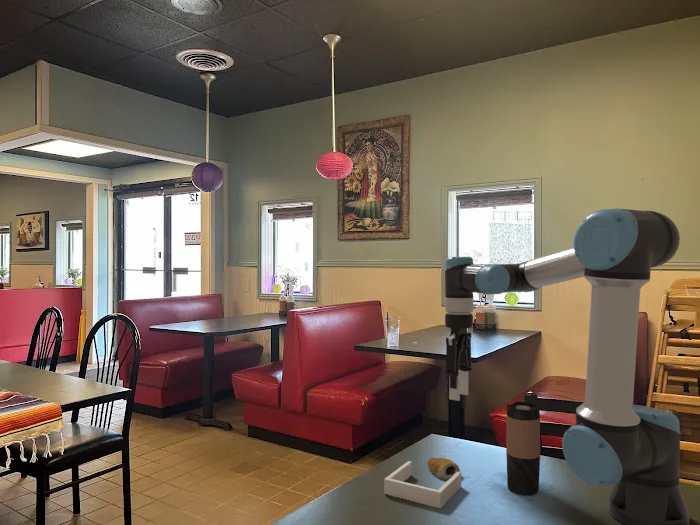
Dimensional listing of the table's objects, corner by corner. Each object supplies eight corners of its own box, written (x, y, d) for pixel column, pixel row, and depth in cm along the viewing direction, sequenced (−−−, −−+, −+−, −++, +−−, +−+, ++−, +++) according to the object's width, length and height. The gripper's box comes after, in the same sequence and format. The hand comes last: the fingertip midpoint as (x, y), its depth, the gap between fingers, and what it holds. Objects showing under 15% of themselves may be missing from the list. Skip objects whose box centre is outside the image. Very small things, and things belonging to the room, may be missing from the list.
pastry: (420, 467, 142) (420, 453, 142) (442, 463, 145) (442, 449, 145) (440, 481, 134) (440, 465, 134) (463, 476, 137) (463, 461, 137)
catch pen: (461, 486, 130) (461, 472, 130) (440, 508, 119) (440, 492, 119) (408, 474, 137) (408, 461, 137) (384, 493, 126) (384, 479, 126)
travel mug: (542, 497, 124) (542, 411, 124) (507, 494, 126) (507, 409, 125) (537, 483, 132) (537, 402, 131) (505, 481, 133) (505, 400, 133)
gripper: (458, 309, 158) (458, 387, 158) (432, 315, 142) (432, 403, 142) (483, 310, 154) (483, 391, 154) (459, 317, 138) (459, 407, 138)
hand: (459, 396), depth 148 cm, fingers open, 6 cm apart
